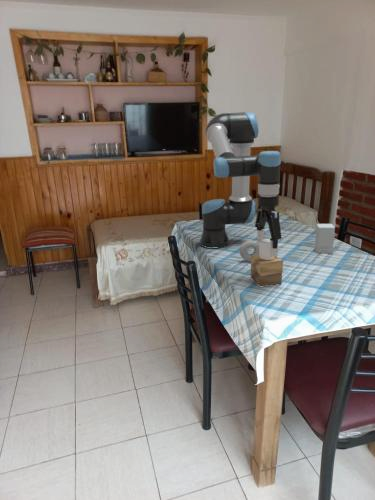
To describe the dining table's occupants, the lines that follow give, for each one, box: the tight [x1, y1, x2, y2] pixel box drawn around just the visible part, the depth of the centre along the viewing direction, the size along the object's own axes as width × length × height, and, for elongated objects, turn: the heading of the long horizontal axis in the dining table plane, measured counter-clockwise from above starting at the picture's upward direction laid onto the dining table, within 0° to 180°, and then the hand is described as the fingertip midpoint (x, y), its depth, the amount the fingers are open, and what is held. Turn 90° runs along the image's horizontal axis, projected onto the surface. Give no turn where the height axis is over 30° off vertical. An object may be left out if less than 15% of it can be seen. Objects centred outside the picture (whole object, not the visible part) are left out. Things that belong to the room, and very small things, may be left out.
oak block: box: [250, 255, 284, 276], centre depth 137 cm, size 9×9×5 cm
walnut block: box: [250, 267, 283, 287], centre depth 139 cm, size 9×9×5 cm
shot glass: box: [259, 237, 275, 260], centre depth 135 cm, size 7×7×7 cm
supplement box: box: [314, 223, 336, 254], centre depth 167 cm, size 7×7×13 cm
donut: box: [239, 239, 259, 262], centre depth 159 cm, size 10×4×10 cm, turn 93°
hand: (266, 250), depth 136 cm, fingers open, 11 cm apart
